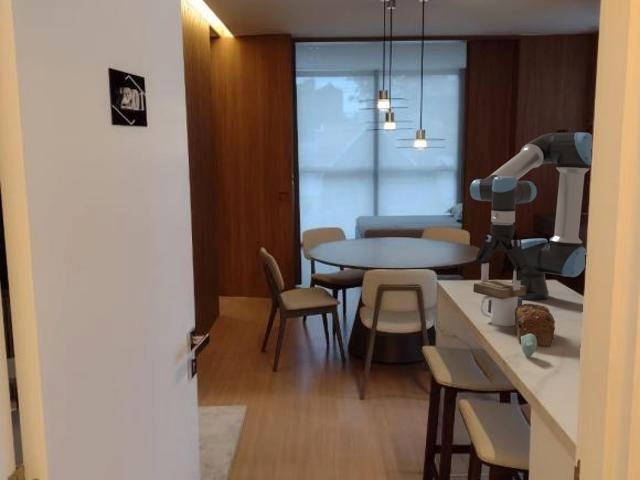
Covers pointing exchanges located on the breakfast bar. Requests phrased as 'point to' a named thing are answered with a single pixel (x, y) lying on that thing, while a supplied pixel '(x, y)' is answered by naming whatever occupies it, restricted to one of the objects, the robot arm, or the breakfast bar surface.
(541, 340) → the bread
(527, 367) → the breakfast bar surface
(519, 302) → the block
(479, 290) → the lid
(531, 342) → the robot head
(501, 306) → the cup
